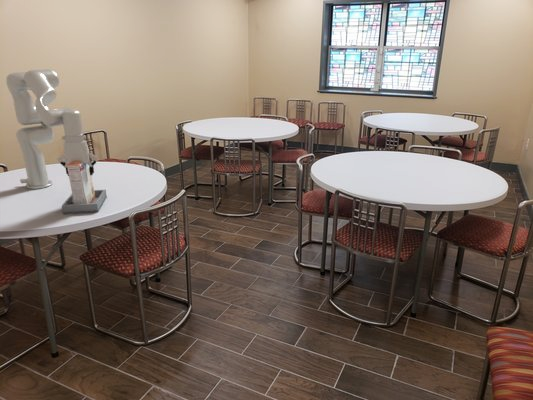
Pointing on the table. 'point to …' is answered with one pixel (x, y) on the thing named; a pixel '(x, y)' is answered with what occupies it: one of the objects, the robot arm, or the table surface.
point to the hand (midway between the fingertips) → (80, 174)
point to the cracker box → (81, 183)
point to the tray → (85, 208)
